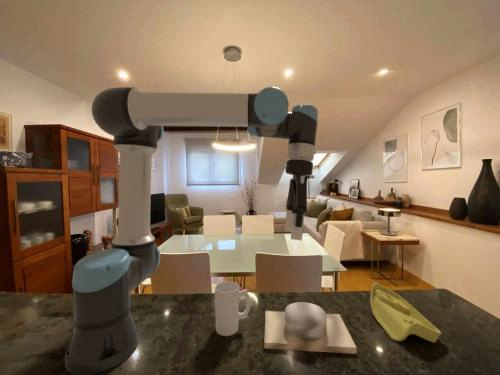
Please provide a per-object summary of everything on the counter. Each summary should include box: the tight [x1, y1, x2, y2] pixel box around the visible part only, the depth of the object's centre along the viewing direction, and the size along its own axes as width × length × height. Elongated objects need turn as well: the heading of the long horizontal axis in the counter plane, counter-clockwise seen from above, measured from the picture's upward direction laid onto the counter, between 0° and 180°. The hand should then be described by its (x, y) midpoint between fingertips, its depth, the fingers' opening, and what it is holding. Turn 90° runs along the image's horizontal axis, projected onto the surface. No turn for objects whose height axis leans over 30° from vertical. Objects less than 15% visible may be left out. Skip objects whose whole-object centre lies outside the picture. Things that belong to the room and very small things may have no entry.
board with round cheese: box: [263, 301, 358, 355], centre depth 63 cm, size 22×14×6 cm, turn 85°
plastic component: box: [369, 282, 442, 343], centre depth 68 cm, size 20×7×10 cm
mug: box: [214, 281, 252, 337], centre depth 65 cm, size 10×7×12 cm, turn 95°
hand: (292, 235), depth 66 cm, fingers open, 13 cm apart
